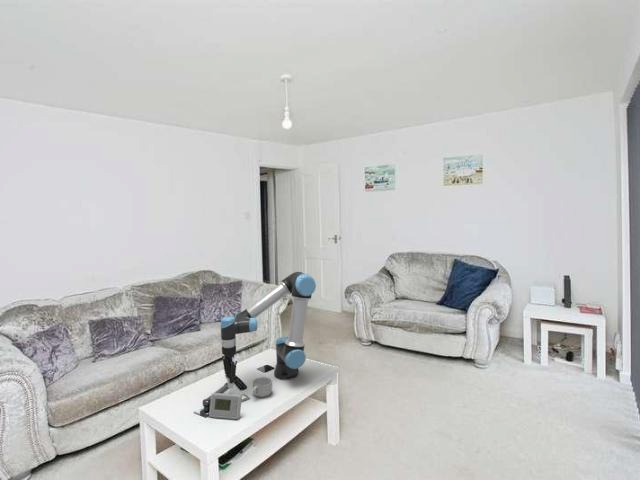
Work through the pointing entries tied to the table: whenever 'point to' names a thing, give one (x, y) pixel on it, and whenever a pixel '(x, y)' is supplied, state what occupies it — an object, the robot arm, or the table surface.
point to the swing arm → (207, 401)
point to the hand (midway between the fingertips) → (230, 388)
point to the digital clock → (225, 406)
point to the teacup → (262, 386)
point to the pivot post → (205, 411)
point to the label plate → (244, 397)
